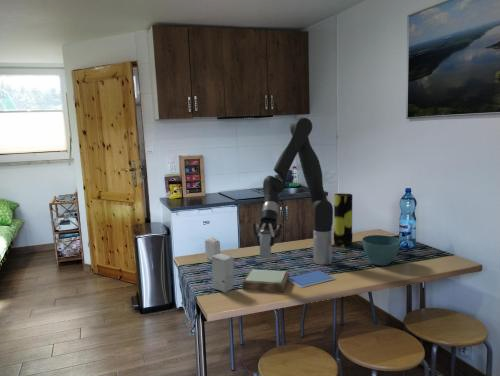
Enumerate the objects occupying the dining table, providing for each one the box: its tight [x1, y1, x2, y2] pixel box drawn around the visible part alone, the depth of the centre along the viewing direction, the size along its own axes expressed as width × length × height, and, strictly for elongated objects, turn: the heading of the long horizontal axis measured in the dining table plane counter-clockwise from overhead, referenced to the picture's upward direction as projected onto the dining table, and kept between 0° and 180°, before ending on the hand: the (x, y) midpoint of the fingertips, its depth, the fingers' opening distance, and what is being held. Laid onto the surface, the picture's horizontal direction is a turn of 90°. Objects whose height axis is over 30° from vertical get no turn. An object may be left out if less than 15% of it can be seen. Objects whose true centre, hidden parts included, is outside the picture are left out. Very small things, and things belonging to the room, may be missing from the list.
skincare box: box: [211, 253, 234, 293], centre depth 180 cm, size 8×6×15 cm
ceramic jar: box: [259, 229, 272, 259], centre depth 182 cm, size 5×5×12 cm
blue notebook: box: [288, 270, 336, 289], centre depth 189 cm, size 19×13×1 cm, turn 118°
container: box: [333, 192, 353, 248], centre depth 239 cm, size 11×11×30 cm
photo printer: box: [204, 236, 221, 262], centre depth 220 cm, size 10×4×12 cm, turn 39°
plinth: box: [242, 268, 290, 293], centre depth 184 cm, size 18×16×4 cm
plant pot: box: [361, 234, 401, 266], centre depth 207 cm, size 18×18×12 cm
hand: (265, 245), depth 181 cm, fingers closed on ceramic jar, 5 cm apart
